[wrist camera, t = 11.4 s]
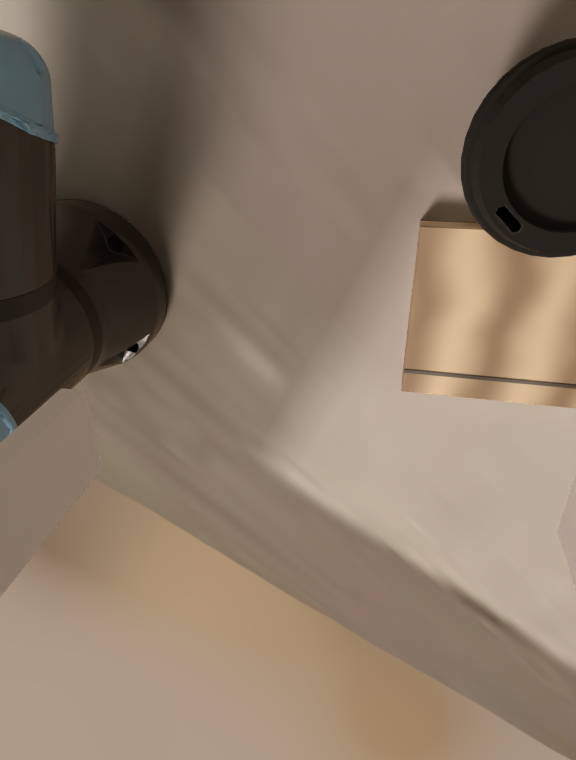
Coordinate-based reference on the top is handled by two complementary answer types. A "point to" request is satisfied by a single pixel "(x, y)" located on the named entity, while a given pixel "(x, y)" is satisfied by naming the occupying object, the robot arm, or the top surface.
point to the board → (490, 320)
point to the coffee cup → (527, 155)
